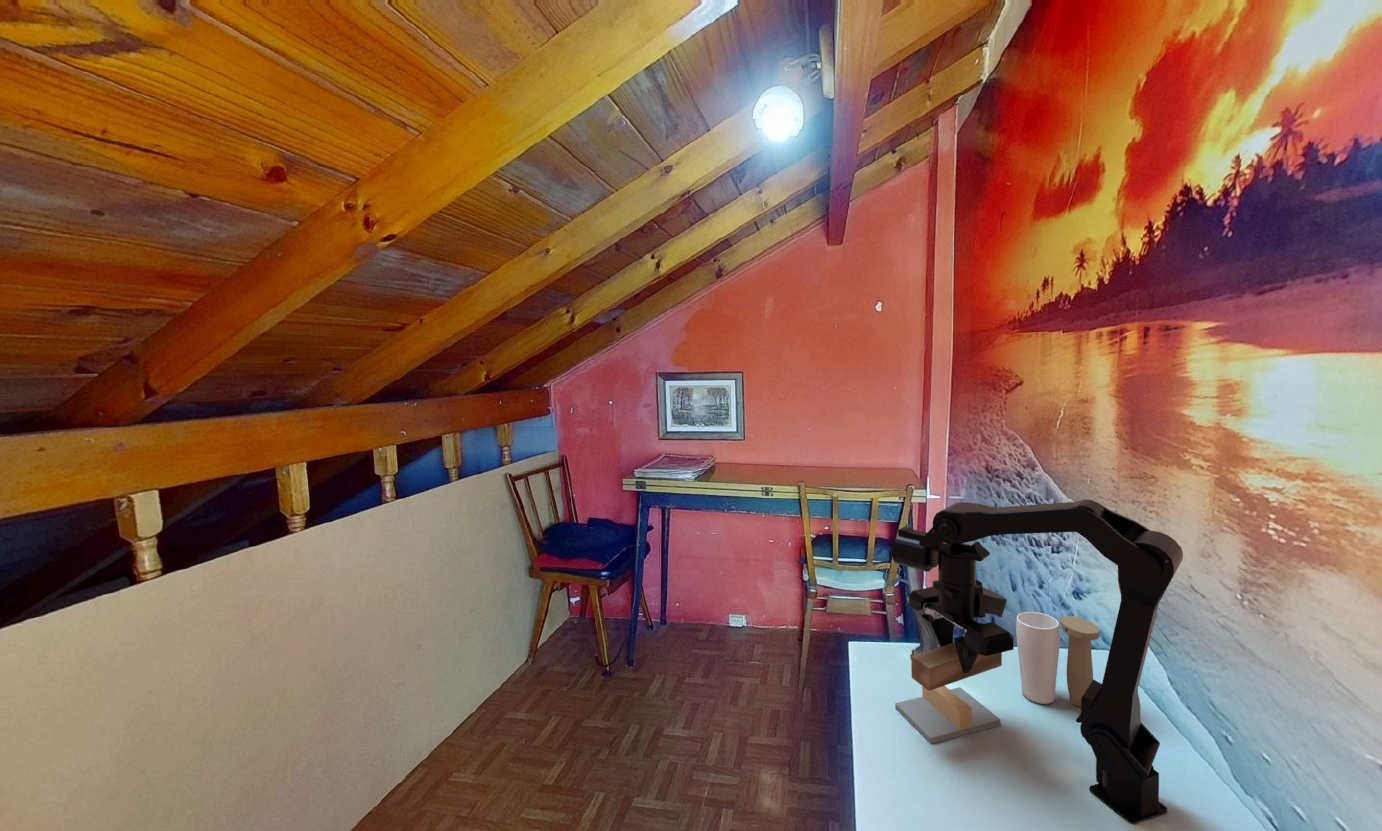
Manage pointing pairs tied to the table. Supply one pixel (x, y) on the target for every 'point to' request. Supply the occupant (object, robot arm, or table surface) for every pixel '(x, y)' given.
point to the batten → (947, 666)
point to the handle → (1079, 655)
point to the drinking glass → (1038, 655)
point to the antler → (920, 617)
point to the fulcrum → (946, 714)
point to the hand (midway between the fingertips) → (957, 664)
